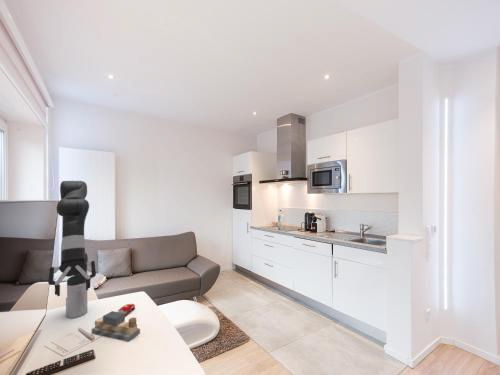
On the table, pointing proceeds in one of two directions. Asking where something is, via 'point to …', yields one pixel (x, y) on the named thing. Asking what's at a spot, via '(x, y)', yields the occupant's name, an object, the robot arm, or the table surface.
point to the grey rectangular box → (114, 318)
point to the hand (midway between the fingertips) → (73, 293)
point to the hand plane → (117, 329)
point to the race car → (127, 309)
